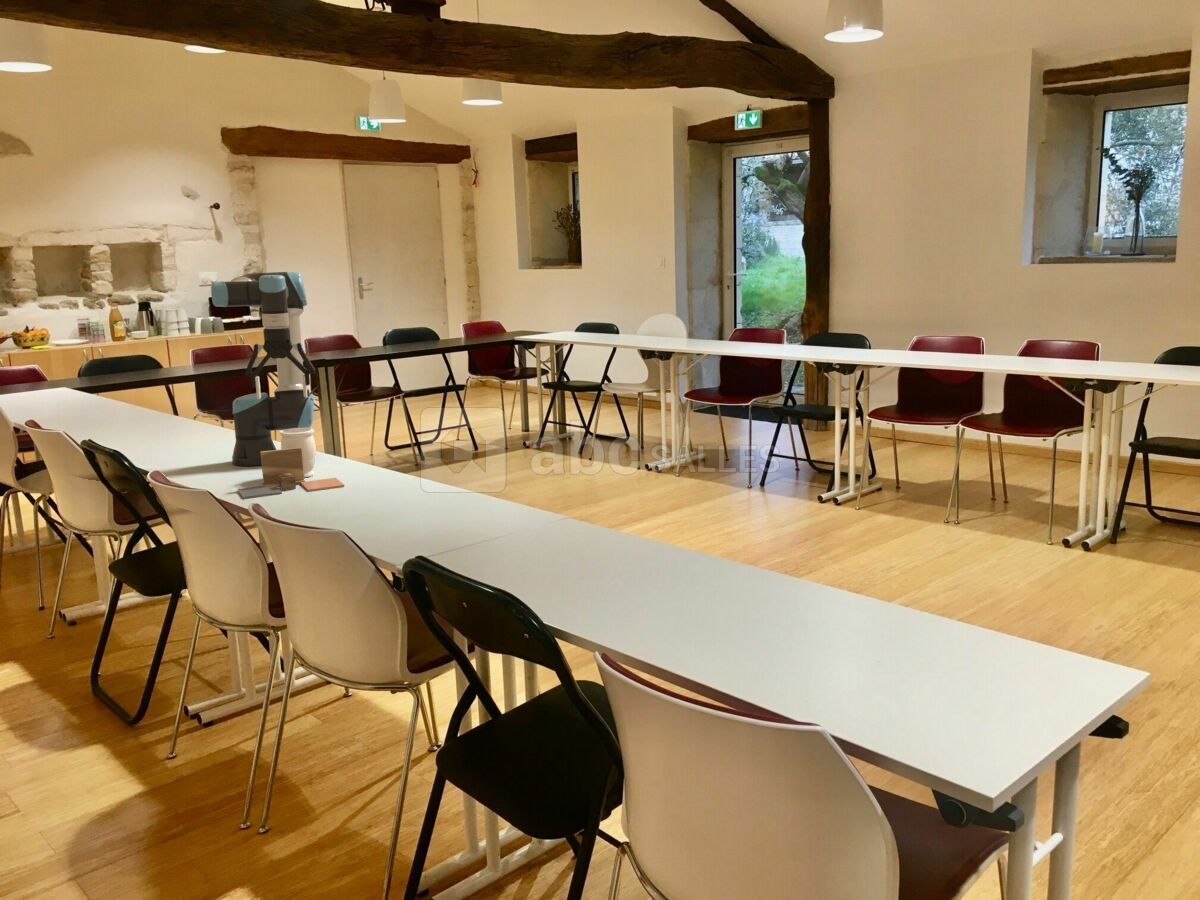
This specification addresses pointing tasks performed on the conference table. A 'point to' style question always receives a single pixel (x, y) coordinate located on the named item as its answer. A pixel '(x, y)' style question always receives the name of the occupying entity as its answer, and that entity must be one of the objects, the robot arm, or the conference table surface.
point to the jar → (303, 440)
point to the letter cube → (287, 481)
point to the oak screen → (281, 465)
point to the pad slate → (258, 491)
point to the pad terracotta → (322, 484)
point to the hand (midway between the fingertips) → (282, 397)
